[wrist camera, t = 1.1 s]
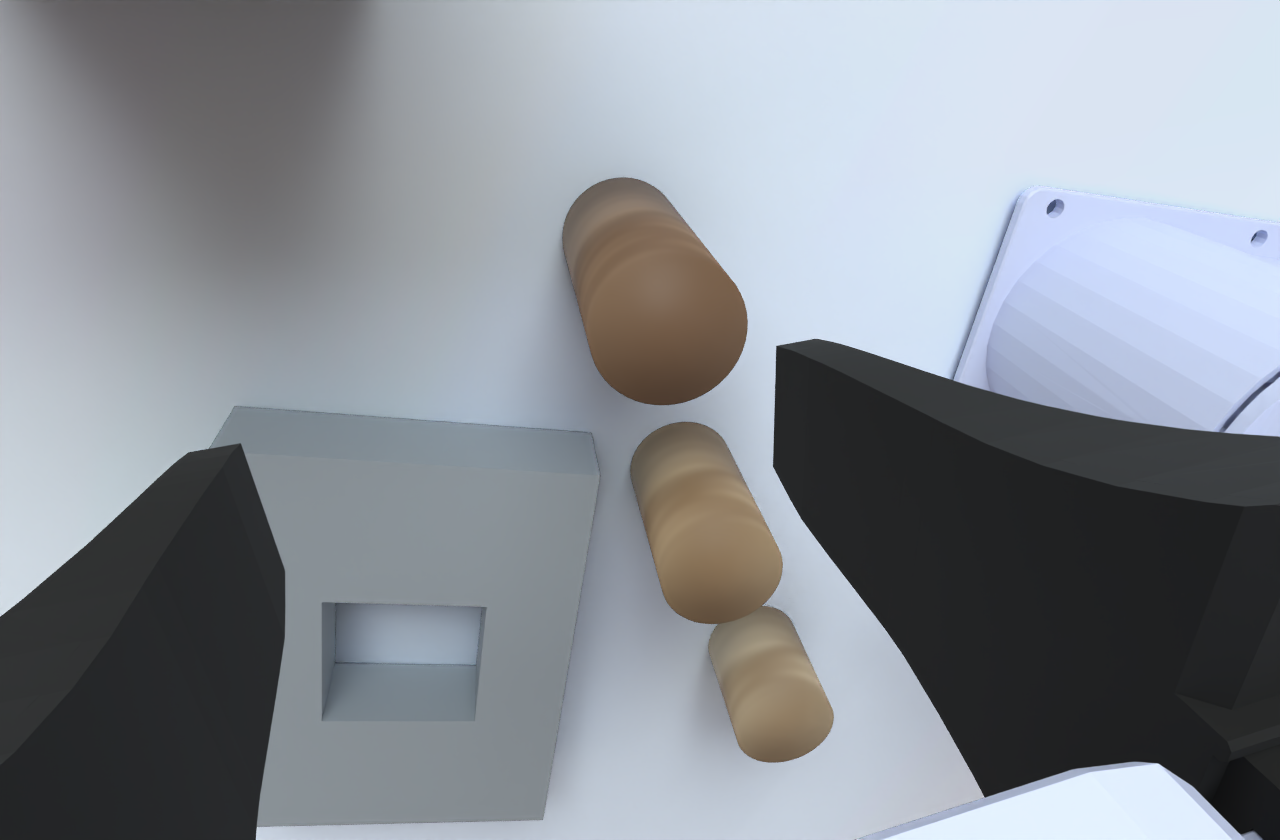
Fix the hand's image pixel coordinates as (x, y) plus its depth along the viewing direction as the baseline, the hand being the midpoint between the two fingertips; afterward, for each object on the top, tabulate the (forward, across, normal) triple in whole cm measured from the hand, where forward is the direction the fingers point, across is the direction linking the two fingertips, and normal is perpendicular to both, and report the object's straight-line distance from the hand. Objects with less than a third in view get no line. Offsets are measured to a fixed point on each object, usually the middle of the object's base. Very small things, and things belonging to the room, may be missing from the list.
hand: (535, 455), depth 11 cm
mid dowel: (+11, -6, +9) cm, 15 cm away
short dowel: (+11, -8, +16) cm, 21 cm away
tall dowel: (+12, -4, +1) cm, 13 cm away
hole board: (+12, +4, +13) cm, 18 cm away
